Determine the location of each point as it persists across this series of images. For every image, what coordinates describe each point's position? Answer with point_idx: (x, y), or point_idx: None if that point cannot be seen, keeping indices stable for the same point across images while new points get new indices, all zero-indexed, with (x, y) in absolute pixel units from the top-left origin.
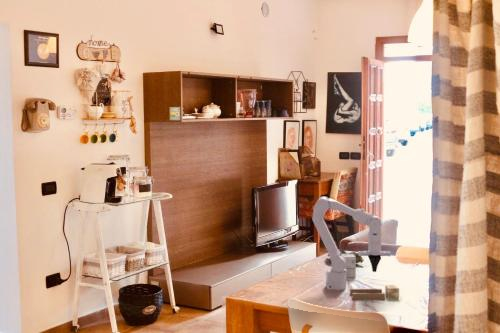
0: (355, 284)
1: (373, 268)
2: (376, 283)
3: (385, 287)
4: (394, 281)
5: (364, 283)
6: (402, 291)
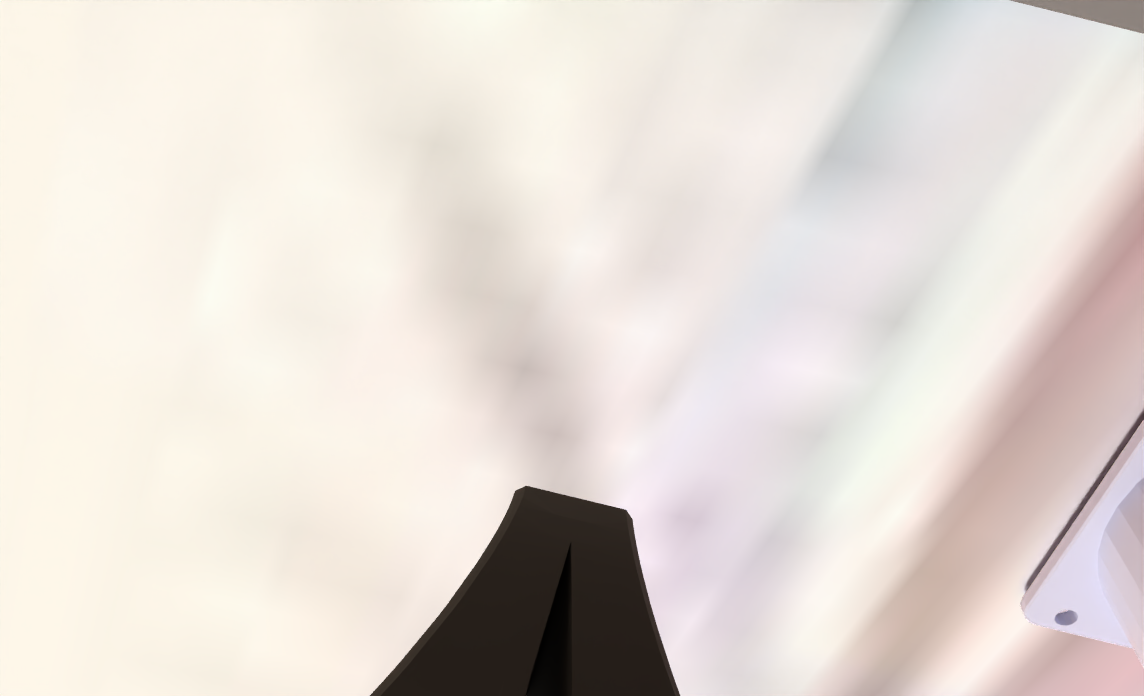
0: (756, 663)
1: (629, 594)
2: (383, 622)
3: None
4: (70, 631)
5: None
6: (5, 92)
